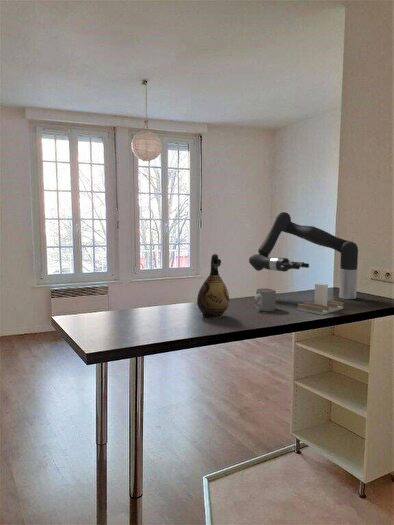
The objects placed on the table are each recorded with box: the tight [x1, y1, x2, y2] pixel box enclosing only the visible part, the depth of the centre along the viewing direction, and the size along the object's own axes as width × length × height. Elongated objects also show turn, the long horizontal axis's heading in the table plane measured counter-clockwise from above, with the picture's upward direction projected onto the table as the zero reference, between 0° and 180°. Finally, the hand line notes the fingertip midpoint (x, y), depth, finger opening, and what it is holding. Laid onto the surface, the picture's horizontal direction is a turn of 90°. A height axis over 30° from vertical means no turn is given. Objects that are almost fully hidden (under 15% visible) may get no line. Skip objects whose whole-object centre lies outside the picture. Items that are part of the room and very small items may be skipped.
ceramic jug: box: [196, 253, 230, 320], centre depth 192 cm, size 17×15×30 cm
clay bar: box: [313, 282, 329, 306], centre depth 207 cm, size 4×5×12 cm
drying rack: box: [297, 299, 344, 316], centre depth 208 cm, size 20×14×3 cm
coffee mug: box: [253, 287, 277, 312], centre depth 208 cm, size 13×10×10 cm
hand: (304, 266), depth 214 cm, fingers open, 8 cm apart
